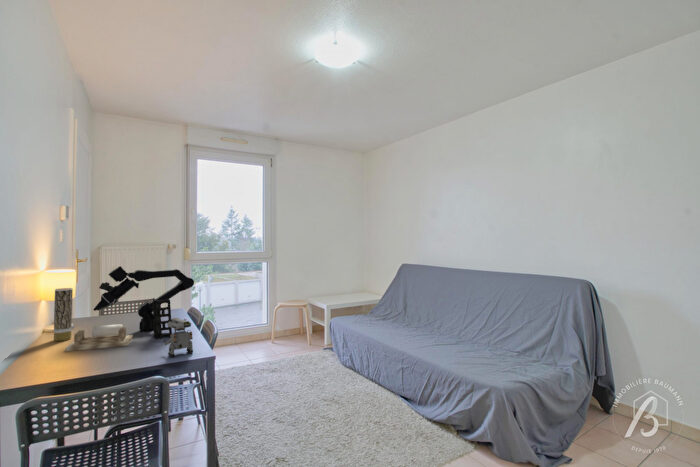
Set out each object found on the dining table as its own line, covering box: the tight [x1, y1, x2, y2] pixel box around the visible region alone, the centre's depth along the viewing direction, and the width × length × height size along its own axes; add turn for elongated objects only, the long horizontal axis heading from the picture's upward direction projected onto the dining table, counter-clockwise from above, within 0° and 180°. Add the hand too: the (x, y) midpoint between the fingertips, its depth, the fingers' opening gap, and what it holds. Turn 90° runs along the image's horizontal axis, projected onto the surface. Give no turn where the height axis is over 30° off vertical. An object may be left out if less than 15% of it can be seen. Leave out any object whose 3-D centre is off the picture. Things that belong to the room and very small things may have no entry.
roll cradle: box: [64, 326, 134, 352], centre depth 168 cm, size 24×14×6 cm, turn 114°
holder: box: [152, 297, 173, 339], centre depth 181 cm, size 11×8×20 cm
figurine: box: [163, 317, 194, 358], centre depth 156 cm, size 9×12×15 cm
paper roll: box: [91, 323, 123, 337], centre depth 181 cm, size 12×6×6 cm, turn 114°
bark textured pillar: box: [53, 287, 73, 342], centre depth 175 cm, size 7×7×25 cm
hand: (95, 310), depth 182 cm, fingers open, 9 cm apart
